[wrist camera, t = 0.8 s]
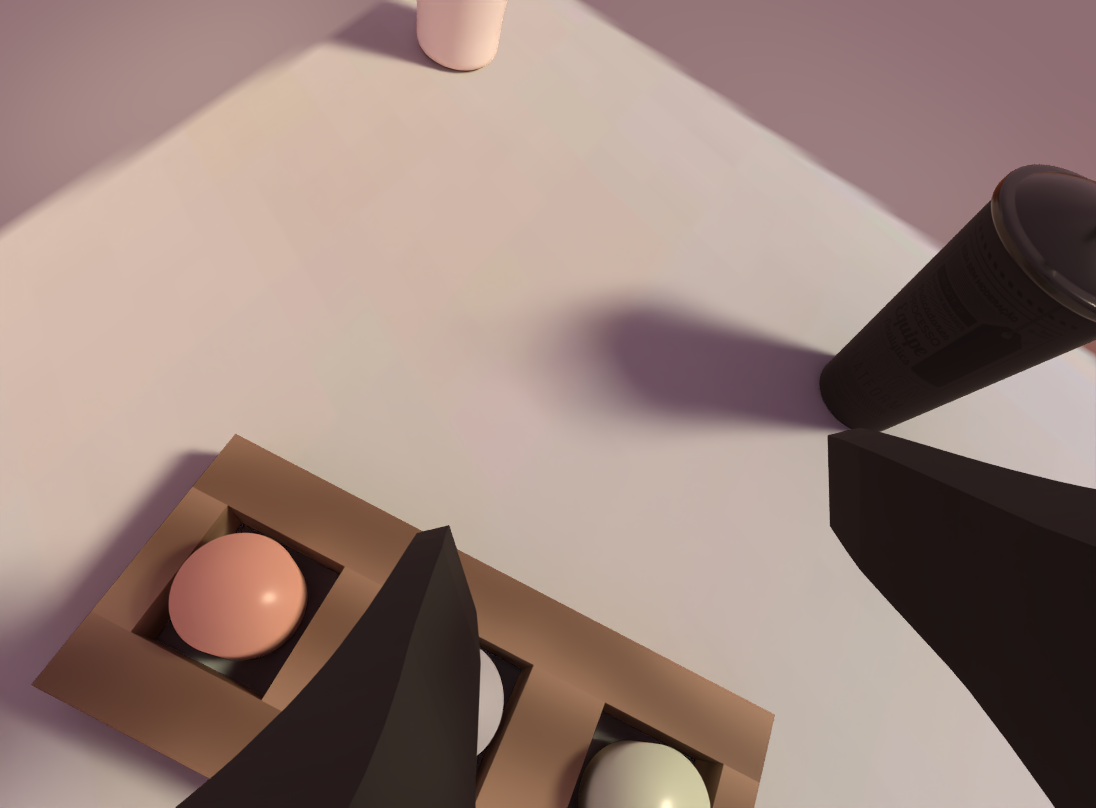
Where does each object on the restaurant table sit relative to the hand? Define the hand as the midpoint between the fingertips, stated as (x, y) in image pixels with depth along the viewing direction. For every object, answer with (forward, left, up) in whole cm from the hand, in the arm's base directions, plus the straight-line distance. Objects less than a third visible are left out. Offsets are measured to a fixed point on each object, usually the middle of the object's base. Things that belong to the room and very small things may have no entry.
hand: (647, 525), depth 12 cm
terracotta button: (-4, +9, -15) cm, 18 cm away
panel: (-4, +1, -17) cm, 17 cm away
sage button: (-4, -7, -15) cm, 17 cm away
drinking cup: (+20, -13, -17) cm, 29 cm away
